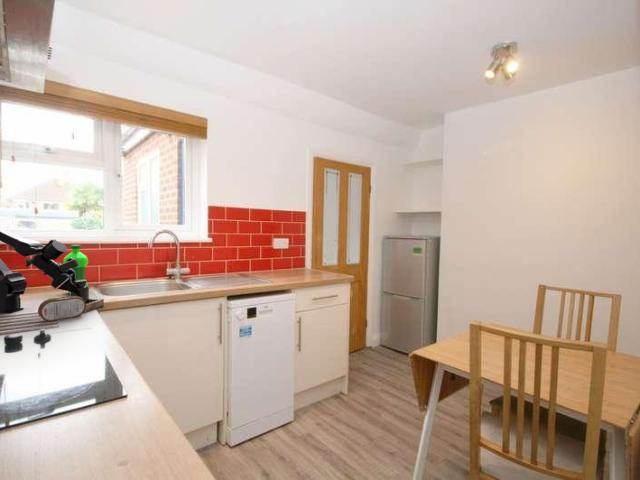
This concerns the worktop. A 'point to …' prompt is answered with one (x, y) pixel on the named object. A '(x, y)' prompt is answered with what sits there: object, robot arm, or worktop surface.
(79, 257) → the plastic bottle
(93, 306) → the keeper collar
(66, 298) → the tin
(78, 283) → the supplement bottle
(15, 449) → the worktop surface
